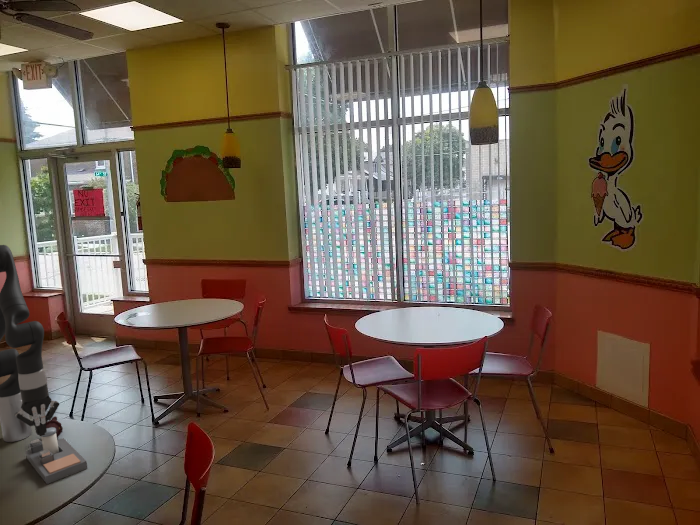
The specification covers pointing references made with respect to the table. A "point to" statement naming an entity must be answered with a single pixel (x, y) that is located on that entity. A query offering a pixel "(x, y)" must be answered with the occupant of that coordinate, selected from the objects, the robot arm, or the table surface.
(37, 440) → the button back
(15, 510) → the table surface
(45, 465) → the housing
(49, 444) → the cartridge
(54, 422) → the icecream
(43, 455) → the button front
